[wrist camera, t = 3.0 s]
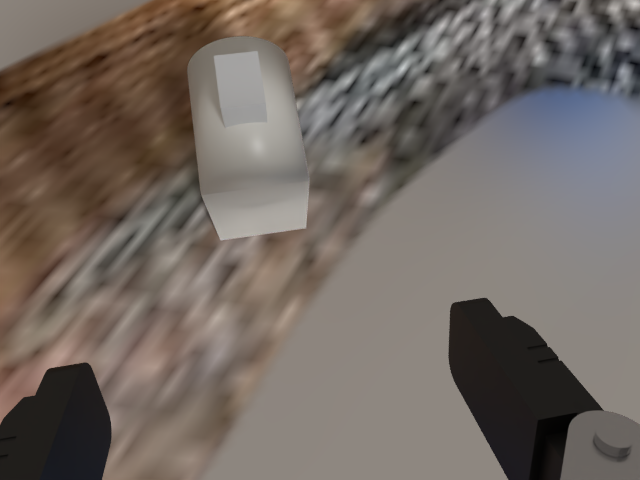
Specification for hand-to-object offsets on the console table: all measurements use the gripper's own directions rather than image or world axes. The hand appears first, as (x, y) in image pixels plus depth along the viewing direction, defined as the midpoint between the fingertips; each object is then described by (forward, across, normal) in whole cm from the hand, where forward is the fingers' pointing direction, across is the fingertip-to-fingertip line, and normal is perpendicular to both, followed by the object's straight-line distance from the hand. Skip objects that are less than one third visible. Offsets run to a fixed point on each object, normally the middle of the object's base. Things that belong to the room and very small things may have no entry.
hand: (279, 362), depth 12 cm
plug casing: (+17, 0, +2) cm, 17 cm away
